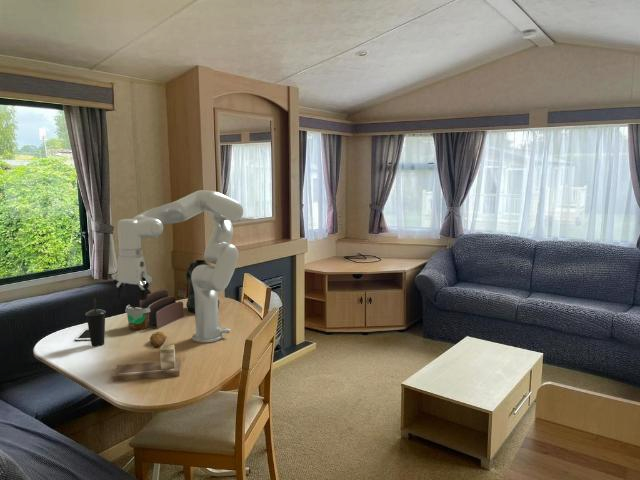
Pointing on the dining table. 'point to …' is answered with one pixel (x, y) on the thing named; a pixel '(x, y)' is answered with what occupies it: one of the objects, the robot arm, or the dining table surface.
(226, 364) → the dining table surface
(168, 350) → the block
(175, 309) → the letter holder
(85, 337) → the cell phone
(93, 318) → the drinking cup
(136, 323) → the food container
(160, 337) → the croissant
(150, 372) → the walnut board
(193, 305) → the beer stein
